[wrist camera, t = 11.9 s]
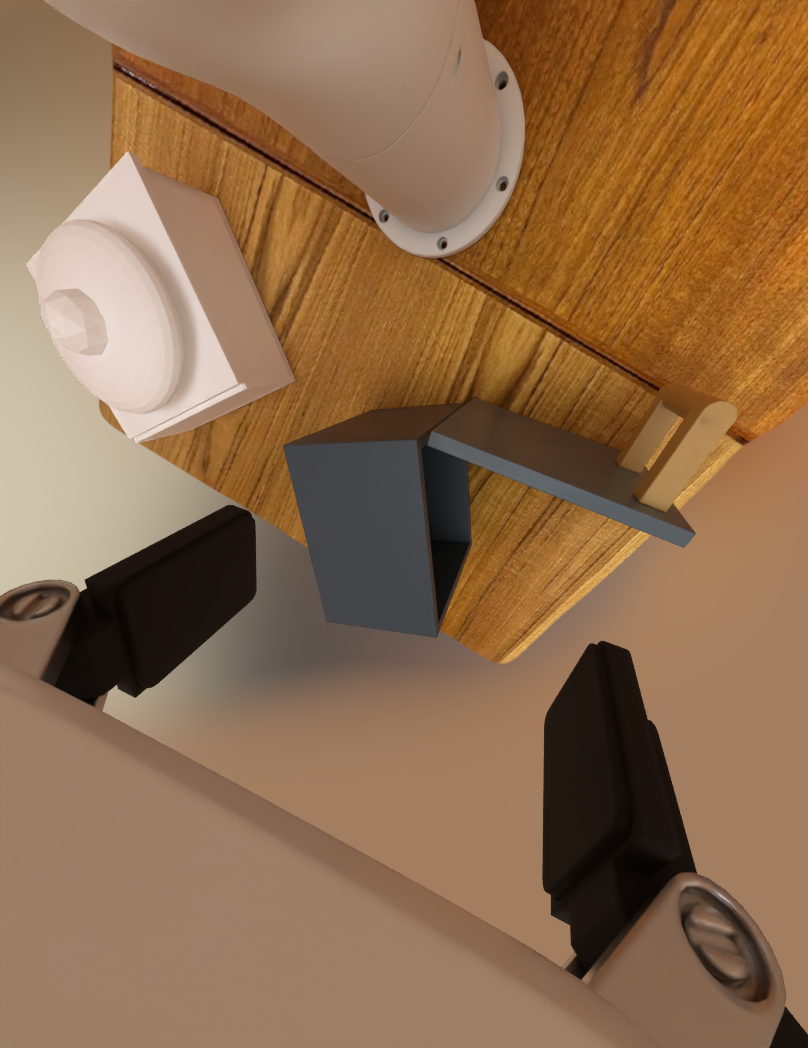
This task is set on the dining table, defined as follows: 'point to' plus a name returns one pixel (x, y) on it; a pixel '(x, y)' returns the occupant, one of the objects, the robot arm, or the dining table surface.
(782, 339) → the dining table surface
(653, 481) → the door
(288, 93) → the robot arm
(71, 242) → the butter dish
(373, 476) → the cupboard
